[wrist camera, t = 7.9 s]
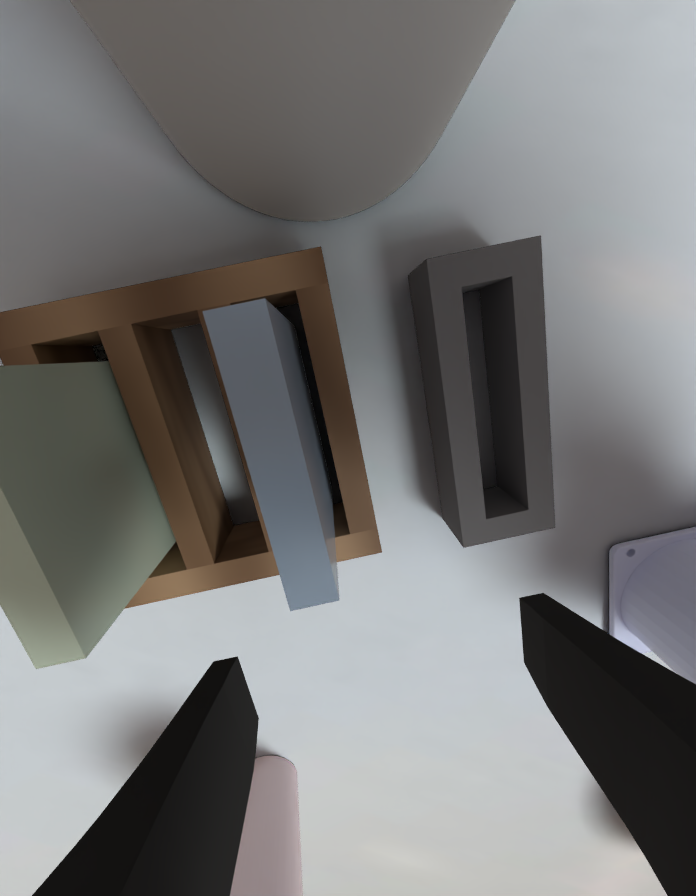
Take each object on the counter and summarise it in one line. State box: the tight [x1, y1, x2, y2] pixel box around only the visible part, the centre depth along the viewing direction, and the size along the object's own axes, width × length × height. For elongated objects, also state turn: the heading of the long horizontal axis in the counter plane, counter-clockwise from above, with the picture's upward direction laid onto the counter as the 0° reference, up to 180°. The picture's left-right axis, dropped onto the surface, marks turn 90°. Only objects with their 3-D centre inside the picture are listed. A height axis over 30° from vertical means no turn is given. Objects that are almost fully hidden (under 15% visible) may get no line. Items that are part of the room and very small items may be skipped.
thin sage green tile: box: [0, 361, 176, 669], centre depth 13 cm, size 1×8×9 cm, turn 12°
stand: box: [408, 236, 555, 548], centre depth 16 cm, size 4×12×3 cm, turn 11°
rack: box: [0, 247, 382, 609], centre depth 16 cm, size 12×12×4 cm
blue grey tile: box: [202, 298, 339, 611], centre depth 13 cm, size 1×8×9 cm, turn 12°
